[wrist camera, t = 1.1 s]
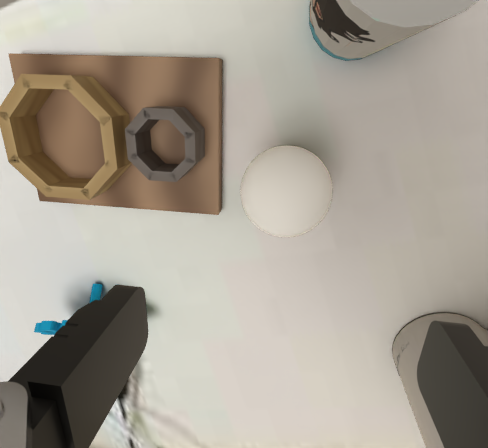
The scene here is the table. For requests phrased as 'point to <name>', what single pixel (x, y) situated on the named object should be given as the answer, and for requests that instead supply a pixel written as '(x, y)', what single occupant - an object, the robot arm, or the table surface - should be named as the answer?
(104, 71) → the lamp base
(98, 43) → the table surface
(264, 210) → the lightbulb
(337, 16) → the face-printed can
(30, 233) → the table surface
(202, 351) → the table surface
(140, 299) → the robot arm
